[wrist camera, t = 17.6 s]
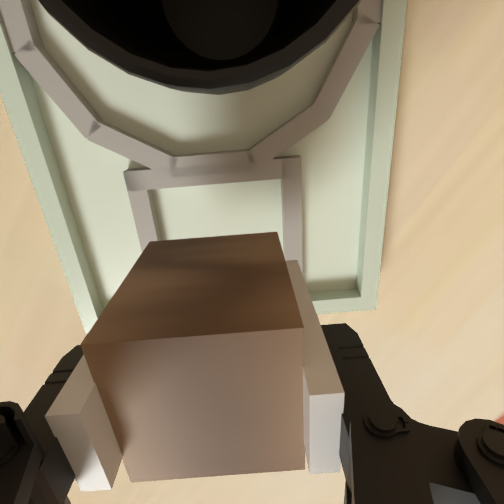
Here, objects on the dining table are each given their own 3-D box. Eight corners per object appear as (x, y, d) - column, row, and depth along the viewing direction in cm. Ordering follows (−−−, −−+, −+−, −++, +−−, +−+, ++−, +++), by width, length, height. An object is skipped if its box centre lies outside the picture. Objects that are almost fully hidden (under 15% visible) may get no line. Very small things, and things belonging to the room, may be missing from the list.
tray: (99, 312, 22) (85, 333, 20) (-101, -308, 11) (-175, -398, 9) (363, 291, 22) (376, 309, 20) (414, -349, 11) (452, -446, 9)
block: (171, 342, 15) (130, 482, 9) (149, 241, 13) (80, 344, 7) (281, 334, 15) (305, 469, 9) (277, 231, 13) (304, 328, 7)
